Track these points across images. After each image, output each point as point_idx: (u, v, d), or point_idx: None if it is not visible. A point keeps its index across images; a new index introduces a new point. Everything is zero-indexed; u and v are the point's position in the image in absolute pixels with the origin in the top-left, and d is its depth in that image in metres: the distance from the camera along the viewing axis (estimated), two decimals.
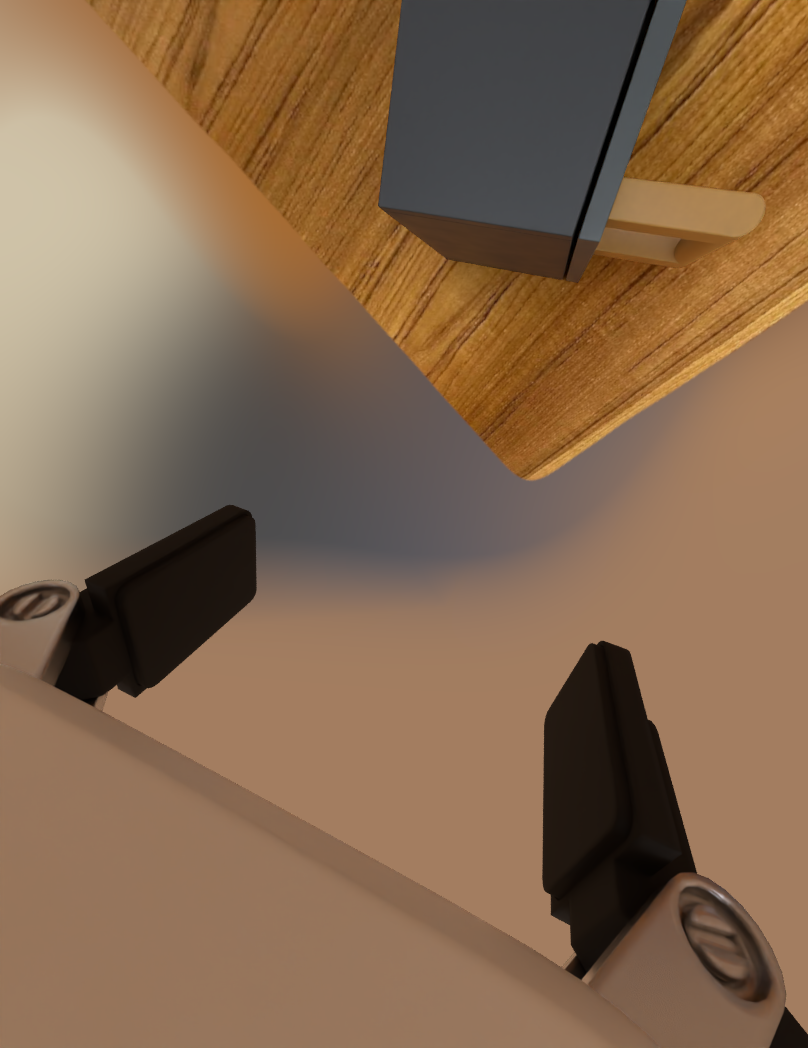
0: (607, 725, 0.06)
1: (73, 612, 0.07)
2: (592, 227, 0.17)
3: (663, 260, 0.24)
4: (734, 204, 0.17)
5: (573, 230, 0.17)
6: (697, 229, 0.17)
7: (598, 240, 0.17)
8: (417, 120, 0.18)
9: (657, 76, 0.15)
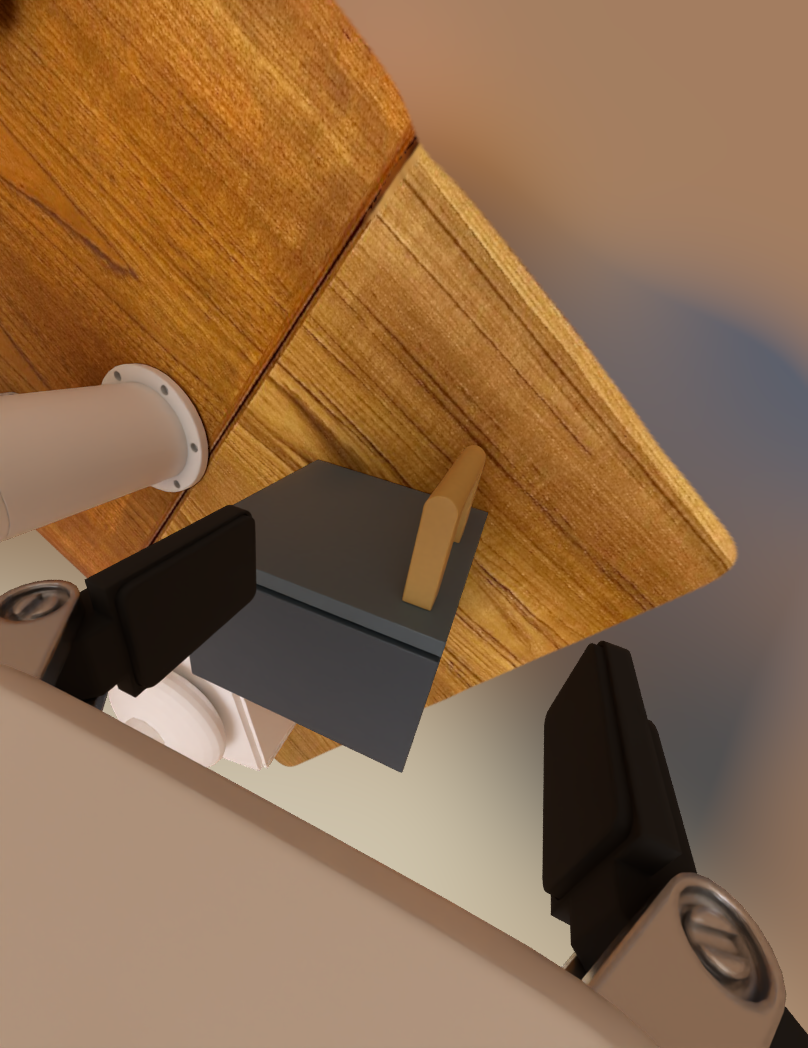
0: (607, 725, 0.06)
1: (73, 612, 0.07)
2: (433, 647, 0.18)
3: (476, 484, 0.23)
4: (430, 520, 0.17)
5: (433, 662, 0.18)
6: (447, 545, 0.17)
7: (444, 643, 0.17)
8: (354, 736, 0.23)
9: (342, 602, 0.18)
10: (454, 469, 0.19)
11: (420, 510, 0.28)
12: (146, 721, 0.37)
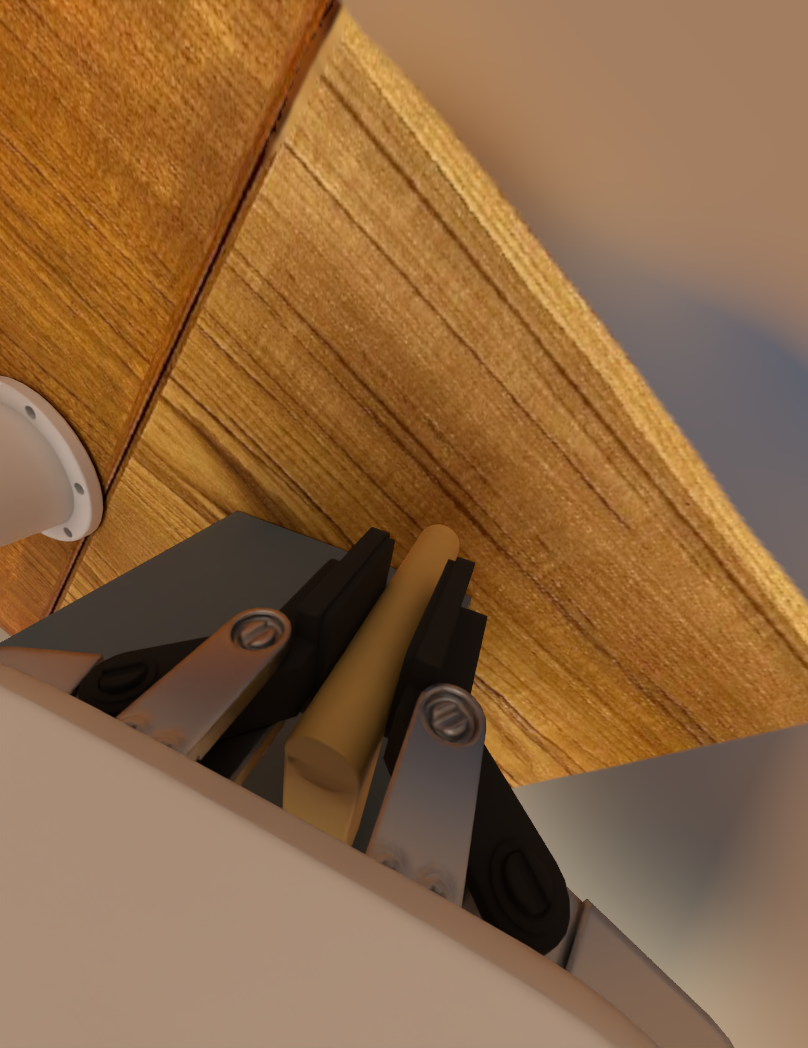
0: (429, 604, 0.08)
1: (290, 640, 0.07)
2: None
3: None
4: (303, 773, 0.07)
5: None
6: None
7: None
8: None
9: None
10: (385, 605, 0.10)
11: None
12: None
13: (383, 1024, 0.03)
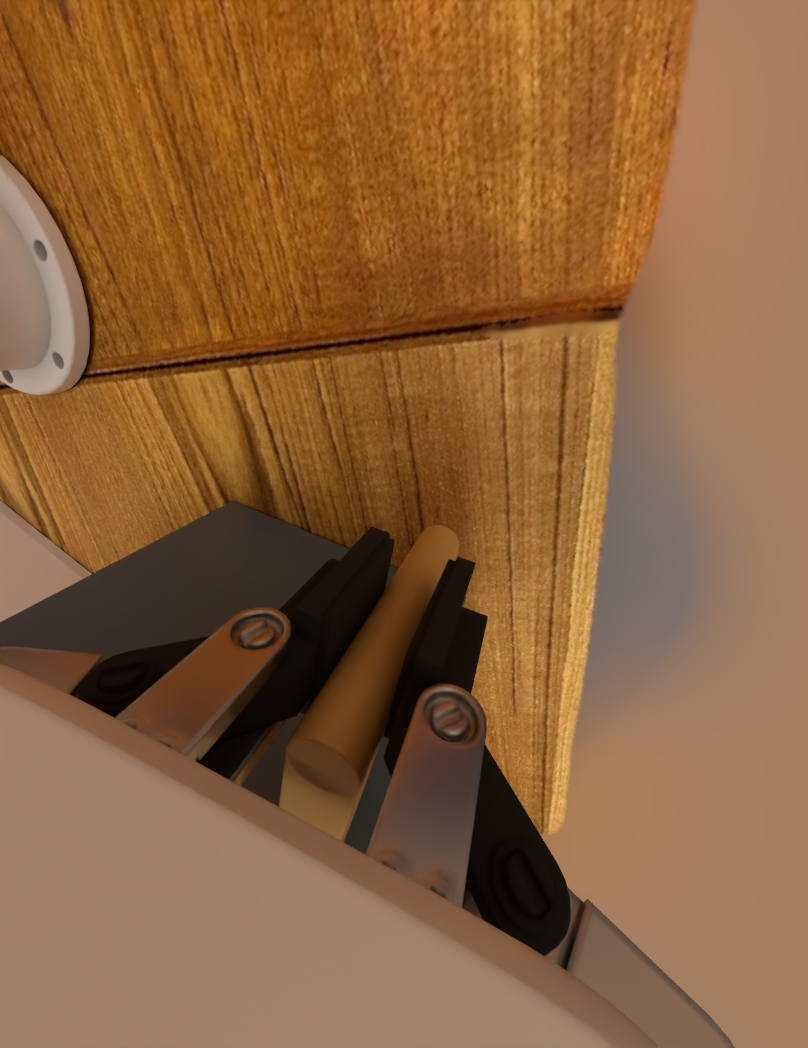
0: (429, 604, 0.08)
1: (290, 640, 0.07)
2: None
3: None
4: (303, 773, 0.07)
5: None
6: (343, 817, 0.08)
7: None
8: None
9: None
10: (386, 606, 0.10)
11: None
12: None
13: (384, 1025, 0.03)
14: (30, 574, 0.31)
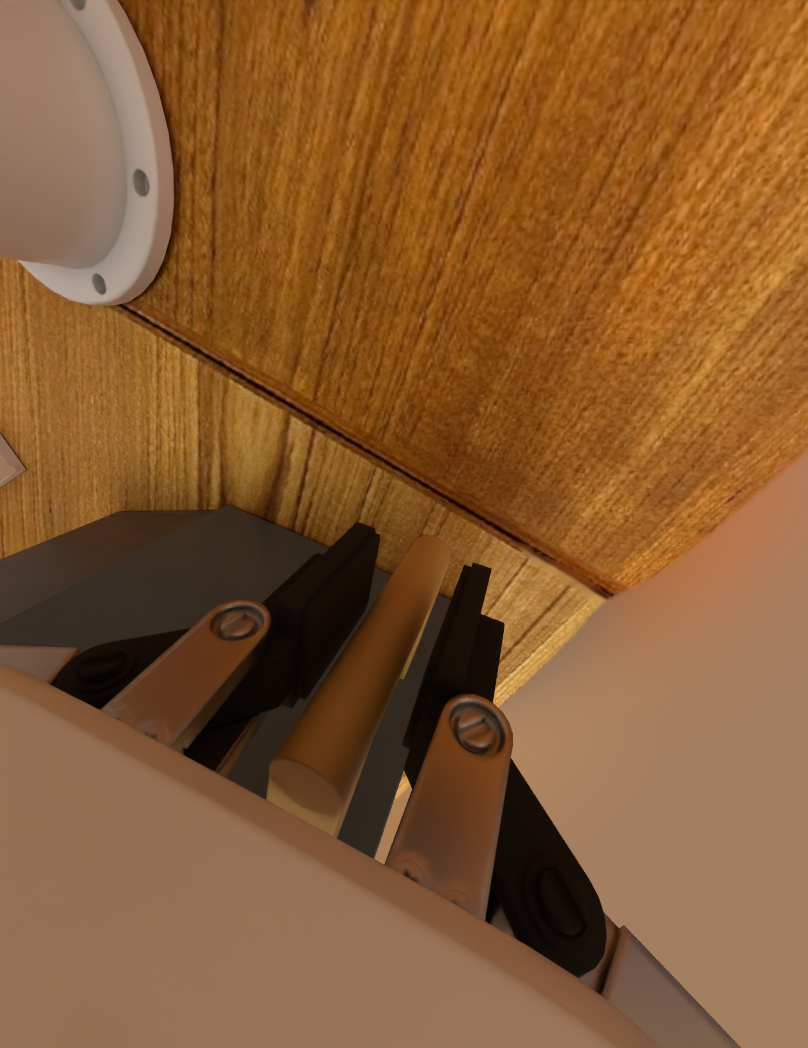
0: (448, 612, 0.08)
1: (270, 631, 0.07)
2: None
3: (431, 606, 0.14)
4: (287, 792, 0.07)
5: None
6: None
7: None
8: None
9: None
10: (375, 621, 0.10)
11: None
12: None
13: (383, 1025, 0.03)
14: None
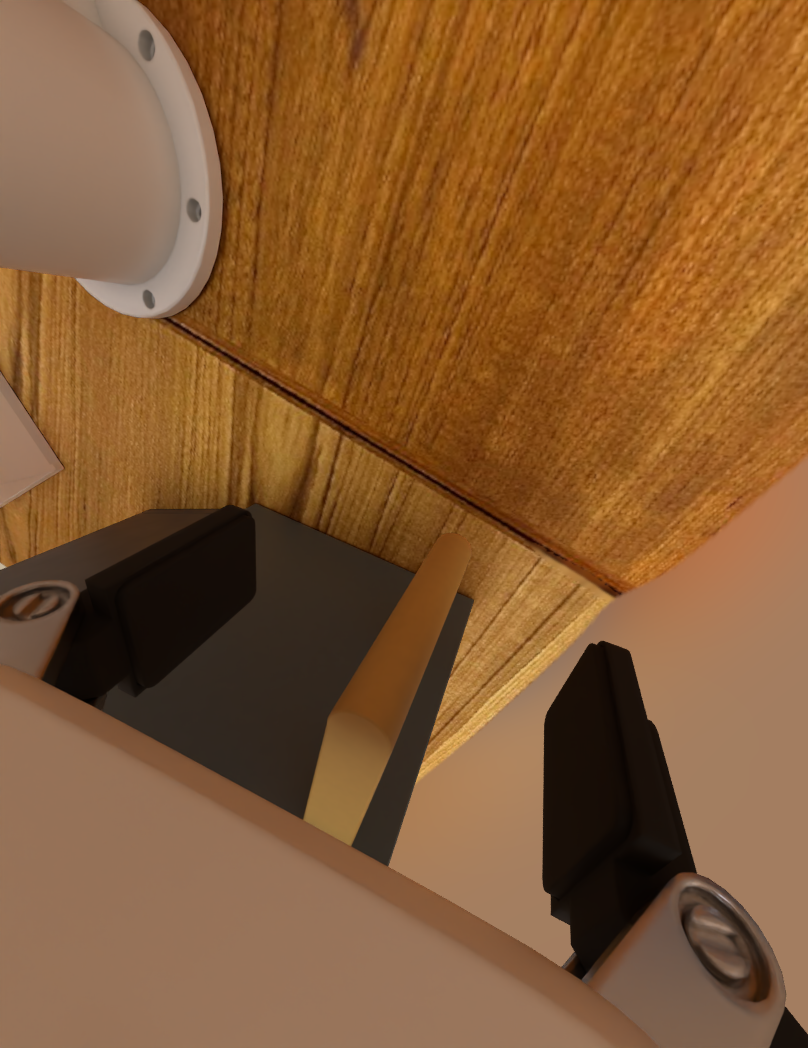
0: (607, 725, 0.06)
1: (73, 612, 0.07)
2: None
3: None
4: (341, 743, 0.09)
5: None
6: (372, 783, 0.09)
7: None
8: None
9: None
10: (409, 605, 0.11)
11: (378, 598, 0.20)
12: None
13: (383, 1025, 0.03)
14: None
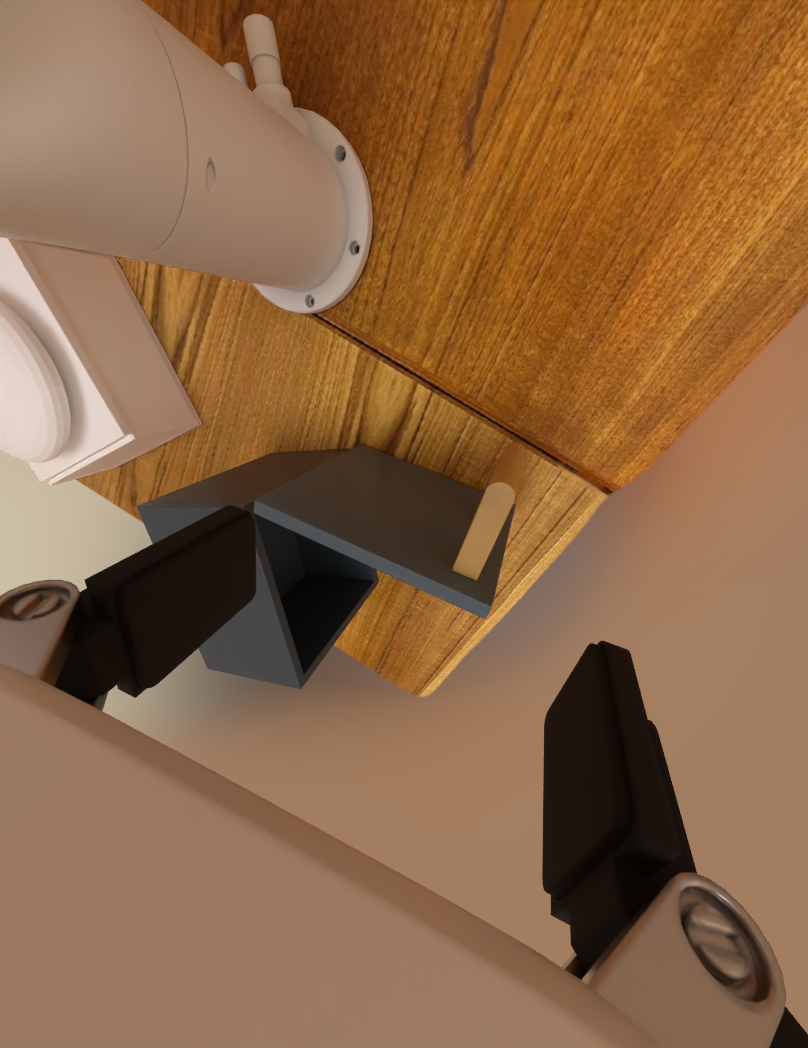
0: (607, 725, 0.06)
1: (73, 612, 0.07)
2: (480, 610, 0.21)
3: None
4: (489, 502, 0.20)
5: (299, 687, 0.30)
6: (501, 524, 0.20)
7: (490, 607, 0.21)
8: (207, 641, 0.31)
9: (403, 567, 0.22)
10: (506, 461, 0.22)
11: (457, 497, 0.31)
12: None
13: (384, 1025, 0.03)
14: (162, 396, 0.38)
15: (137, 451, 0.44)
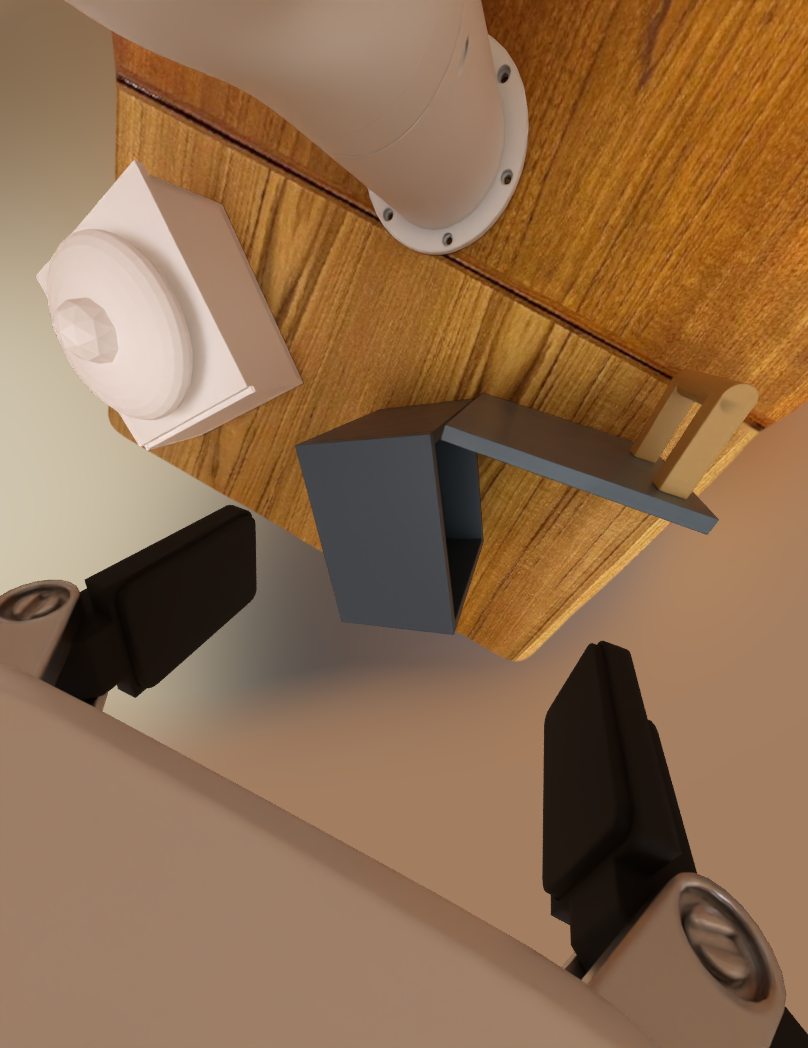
0: (607, 725, 0.06)
1: (73, 612, 0.07)
2: (703, 524, 0.20)
3: (692, 404, 0.25)
4: (724, 408, 0.19)
5: (453, 632, 0.29)
6: (732, 432, 0.19)
7: (717, 520, 0.20)
8: (348, 591, 0.31)
9: (616, 485, 0.21)
10: (711, 376, 0.22)
11: (601, 438, 0.31)
12: (118, 332, 0.30)
13: (383, 1025, 0.03)
14: (271, 351, 0.38)
15: (233, 414, 0.43)
